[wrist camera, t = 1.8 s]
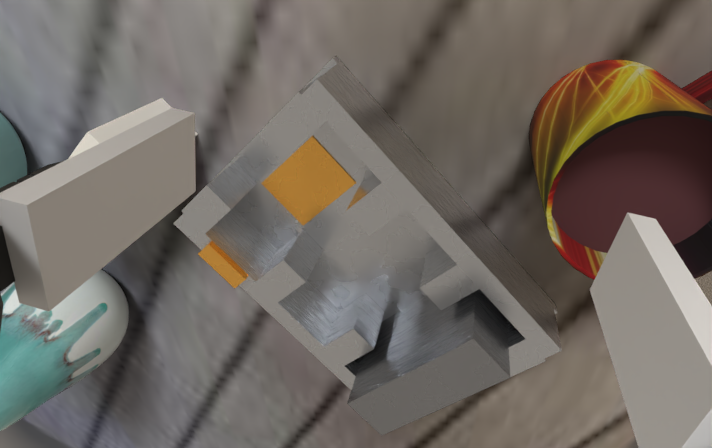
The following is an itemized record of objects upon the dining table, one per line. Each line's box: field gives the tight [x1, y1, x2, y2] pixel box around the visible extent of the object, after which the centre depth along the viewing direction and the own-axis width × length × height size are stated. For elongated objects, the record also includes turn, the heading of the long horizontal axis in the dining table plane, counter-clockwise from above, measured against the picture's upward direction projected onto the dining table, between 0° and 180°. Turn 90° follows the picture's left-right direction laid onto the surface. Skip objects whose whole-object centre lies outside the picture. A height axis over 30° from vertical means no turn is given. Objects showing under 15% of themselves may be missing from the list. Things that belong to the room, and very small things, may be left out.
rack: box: [173, 56, 562, 435], centre depth 39 cm, size 27×17×10 cm, turn 43°
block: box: [68, 98, 198, 159], centre depth 40 cm, size 4×12×9 cm, turn 133°
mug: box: [529, 60, 712, 280], centre depth 28 cm, size 10×14×12 cm
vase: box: [0, 269, 129, 431], centre depth 46 cm, size 12×12×18 cm
